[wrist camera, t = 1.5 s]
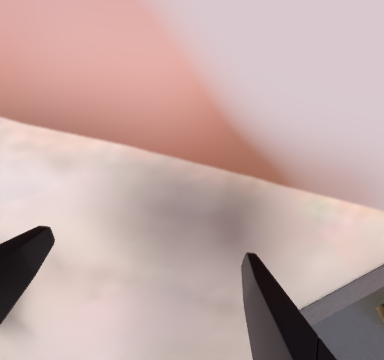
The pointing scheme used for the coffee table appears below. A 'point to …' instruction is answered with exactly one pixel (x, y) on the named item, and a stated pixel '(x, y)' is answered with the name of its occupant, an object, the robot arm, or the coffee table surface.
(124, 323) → the coffee table surface
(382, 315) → the lever cap
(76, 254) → the coffee table surface
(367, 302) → the plane body
